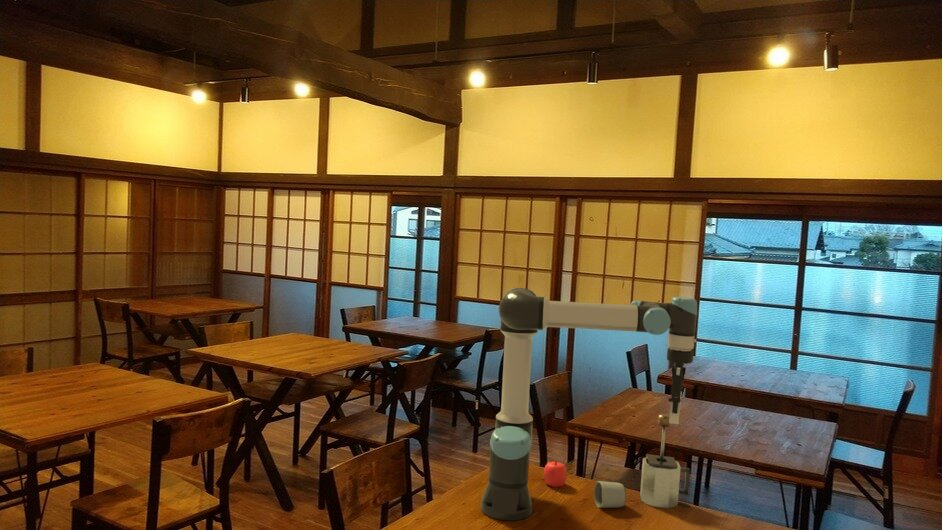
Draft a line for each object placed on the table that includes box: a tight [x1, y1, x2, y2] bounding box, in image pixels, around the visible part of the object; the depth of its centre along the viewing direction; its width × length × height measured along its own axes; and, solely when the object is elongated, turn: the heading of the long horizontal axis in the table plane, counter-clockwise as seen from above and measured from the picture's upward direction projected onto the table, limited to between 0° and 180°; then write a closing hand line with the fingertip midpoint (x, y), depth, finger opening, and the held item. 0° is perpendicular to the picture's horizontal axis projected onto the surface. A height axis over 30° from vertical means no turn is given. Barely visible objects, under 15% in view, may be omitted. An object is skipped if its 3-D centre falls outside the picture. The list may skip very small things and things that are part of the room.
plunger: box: [657, 413, 672, 469], centre depth 208 cm, size 8×8×18 cm
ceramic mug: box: [593, 480, 628, 509], centre depth 204 cm, size 11×8×8 cm
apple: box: [543, 460, 568, 488], centre depth 218 cm, size 8×8×8 cm
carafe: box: [639, 454, 691, 510], centre depth 208 cm, size 14×11×13 cm
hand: (674, 417), depth 201 cm, fingers open, 13 cm apart
